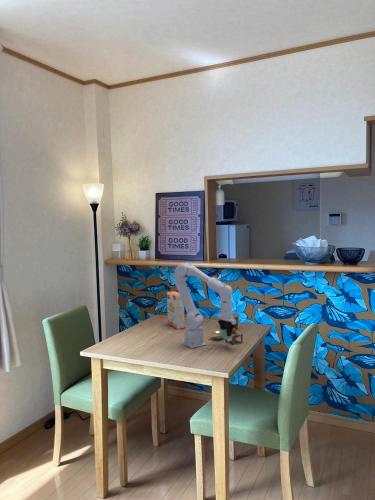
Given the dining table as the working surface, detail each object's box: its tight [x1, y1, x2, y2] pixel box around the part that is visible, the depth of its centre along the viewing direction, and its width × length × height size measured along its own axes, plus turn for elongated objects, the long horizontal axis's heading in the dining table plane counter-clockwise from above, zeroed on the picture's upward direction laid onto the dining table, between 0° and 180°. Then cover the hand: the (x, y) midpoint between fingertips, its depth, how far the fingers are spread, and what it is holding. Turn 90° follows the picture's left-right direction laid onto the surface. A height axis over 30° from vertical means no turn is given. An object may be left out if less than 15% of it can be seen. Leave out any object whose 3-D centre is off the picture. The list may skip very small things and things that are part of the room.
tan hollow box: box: [224, 328, 244, 346], centre depth 221 cm, size 7×7×7 cm
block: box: [220, 329, 232, 340], centre depth 212 cm, size 4×4×4 cm
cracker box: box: [166, 290, 186, 330], centre depth 255 cm, size 14×6×21 cm, turn 25°
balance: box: [209, 328, 240, 341], centre depth 230 cm, size 18×8×5 cm, turn 118°
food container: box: [220, 311, 240, 330], centre depth 245 cm, size 12×6×10 cm, turn 62°
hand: (226, 334), depth 212 cm, fingers closed on block, 4 cm apart
